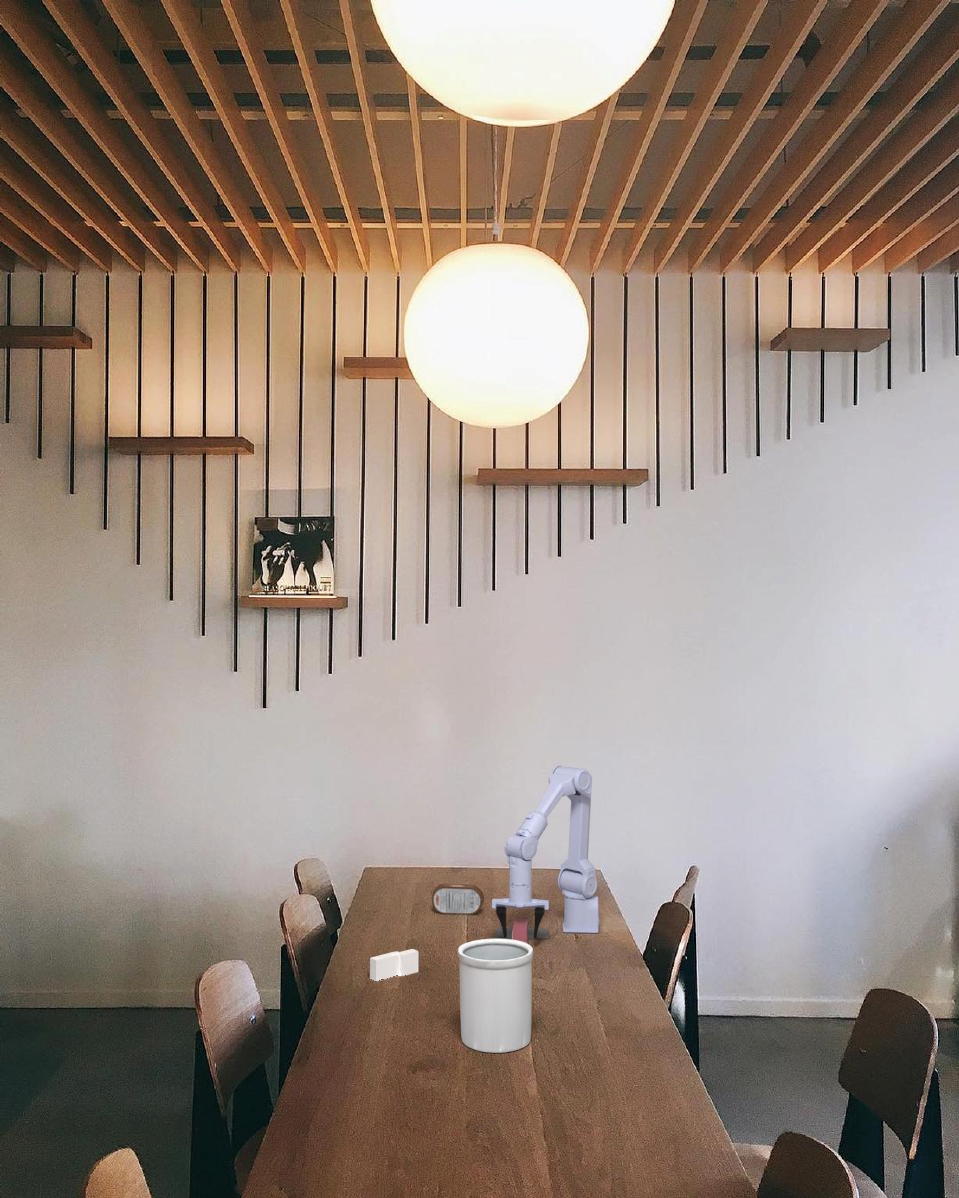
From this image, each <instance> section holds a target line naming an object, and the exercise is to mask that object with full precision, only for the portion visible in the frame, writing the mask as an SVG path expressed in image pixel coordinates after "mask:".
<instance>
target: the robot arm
mask: <svg viewBox="0 0 959 1198" xmlns="http://www.w3.org/2000/svg"><path fill="white" fill-rule="evenodd" d="M592 783H593V776H592V774H591V773H590V772H589V771H588V770H587V769H586V768H583V767H582V768H579V767H578V768H577V767H569V766H563V765H557V766H555V767H554V768H553V769H552V771H551V773H550V774H549V775H548V784H549V785H548V786H547V788H546V790H545V792H544V794H543V796H542V798H541V800H540V801H539V803H538V806H537V807H536V809H535V810H534V811H529V812H528V813H527V814H526V816H525V818H524V820H523V822H522V823H521V825H520V826H519V827H518V829H517V831H516V833H515V834H513V835H511V836H509V838H507V840H506V842H505V846H504V848H503V849H504V853H505V855H506V857H507V863H508V864H509V866H508V867H509V871H508V873H509V874H508V875H509V876H508V877H509V878H508V879H509V881H508V884H509V885H508V898H507V897H506V898H505V897H504V898H492V899H491V909H495V912H496V913H495V914H496V916H497V918H498V920H499V923H500V926H501V928H502V930H503V935H504V938H503V939H507V938H506V937H507V928H508V927H507V909H527V910H528V909H529V910H530V909H531V910H534V927H533V929H534V939H533V940H537V939H536V938H537V932H538V929H540V928H539V927H540V925H541V922H542V919H543V917H544V915H545V911H547V910H549V909H550V900H549V899H548V900H547V899H538V898H532V887H533V886H532V881H533V879H532V875H533V874H532V864H533V863H532V859H534V857H535V856H536V854H537V852H538V851H537V850H538V845H539V840H540V838H541V837H542V835H543V833H544V832H545V830H546V828H547V826H548V824H549V823H548V817H549V815H551V813H552V812H553V810H554V808H555V807H556V806H557V804H558V803H559V802H560V800H561V799H562V798H563V797H567V798H568V799H569V800H570V815H569V816H570V817H569V833H568V834H569V836H568V852H567V853H568V854H567V859H566V860H564V861H563V862H562V863H561V864H560V870H559V874H558V877H557V886H558V888H559V890H560V891H561V894H562V895H563V896H564V898H563V899H564V900H563V903H564V904H563V907H564V908H563V909H564V914H563V916H564V918H563V922H562V932H563V933H577V934H578V933H586V934H598V933H599V925H600V916H599V896H597V895H596V896H595V893H596V891H597V888H598V879H597V875H596V873H597V872H596V870H597V869H596V867H595V866H594V865H593V864H592V863H591V862H590V861H589V846H590V845H589V844H590V843H589V841H590V825H591V824H590V823H591V806H592V805H591V803H592V787H593V784H592ZM549 911H550V910H549Z"/></svg>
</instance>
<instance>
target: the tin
mask: <svg viewBox="0 0 959 1198" xmlns="http://www.w3.org/2000/svg"><path fill="white" fill-rule="evenodd" d="M484 902H485V897H484V893H483V891H482V890H481V888H480V887H478V886H477V885H475V884H471V883H449V882H445V883H441V884H438V885H437V886H436V887H435V888H434V889H433V891H432V895H431V904H432V907H433V908H434V910H435V911H436V912H437V913H439V914H442V913H443V914H442V915H456V914H463V916H472V915H475V914H477V913H478V912H479V911H481V909H482V907H483V905H484ZM465 914H466V915H465Z"/></svg>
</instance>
